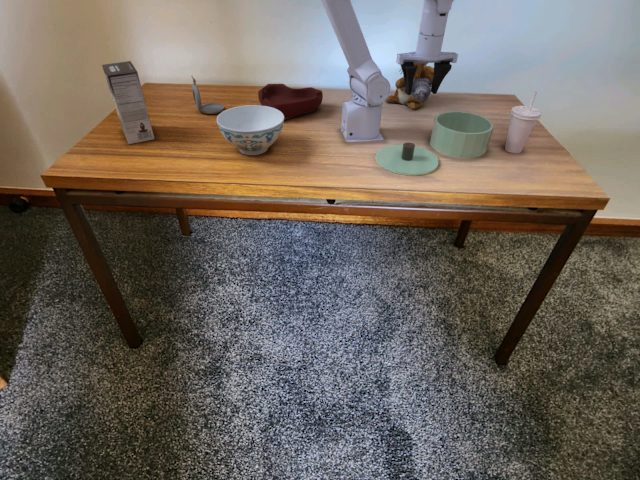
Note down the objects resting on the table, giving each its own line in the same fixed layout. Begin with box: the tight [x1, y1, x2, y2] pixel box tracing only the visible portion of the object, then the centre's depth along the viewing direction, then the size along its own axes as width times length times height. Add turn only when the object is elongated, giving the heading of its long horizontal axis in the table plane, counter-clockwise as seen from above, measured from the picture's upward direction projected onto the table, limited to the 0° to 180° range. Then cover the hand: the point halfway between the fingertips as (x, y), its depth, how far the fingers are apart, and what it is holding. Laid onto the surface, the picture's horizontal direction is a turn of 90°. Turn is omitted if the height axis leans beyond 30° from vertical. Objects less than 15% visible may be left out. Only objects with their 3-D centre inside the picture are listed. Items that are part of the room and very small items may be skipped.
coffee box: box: [101, 60, 156, 145], centre depth 94 cm, size 9×6×16 cm
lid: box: [375, 142, 440, 177], centre depth 89 cm, size 14×14×4 cm
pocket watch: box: [191, 75, 225, 115], centre depth 108 cm, size 8×8×10 cm
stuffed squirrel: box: [385, 63, 434, 111], centre depth 116 cm, size 10×14×13 cm
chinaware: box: [216, 104, 285, 156], centre depth 91 cm, size 15×15×8 cm
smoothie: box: [504, 91, 542, 154], centre depth 92 cm, size 6×6×14 cm
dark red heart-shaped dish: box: [257, 83, 323, 121], centre depth 110 cm, size 18×16×5 cm
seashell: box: [411, 78, 432, 102], centre depth 99 cm, size 5×5×10 cm
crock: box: [429, 110, 494, 159], centre depth 95 cm, size 13×13×6 cm
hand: (420, 93), depth 100 cm, fingers closed on seashell, 6 cm apart
